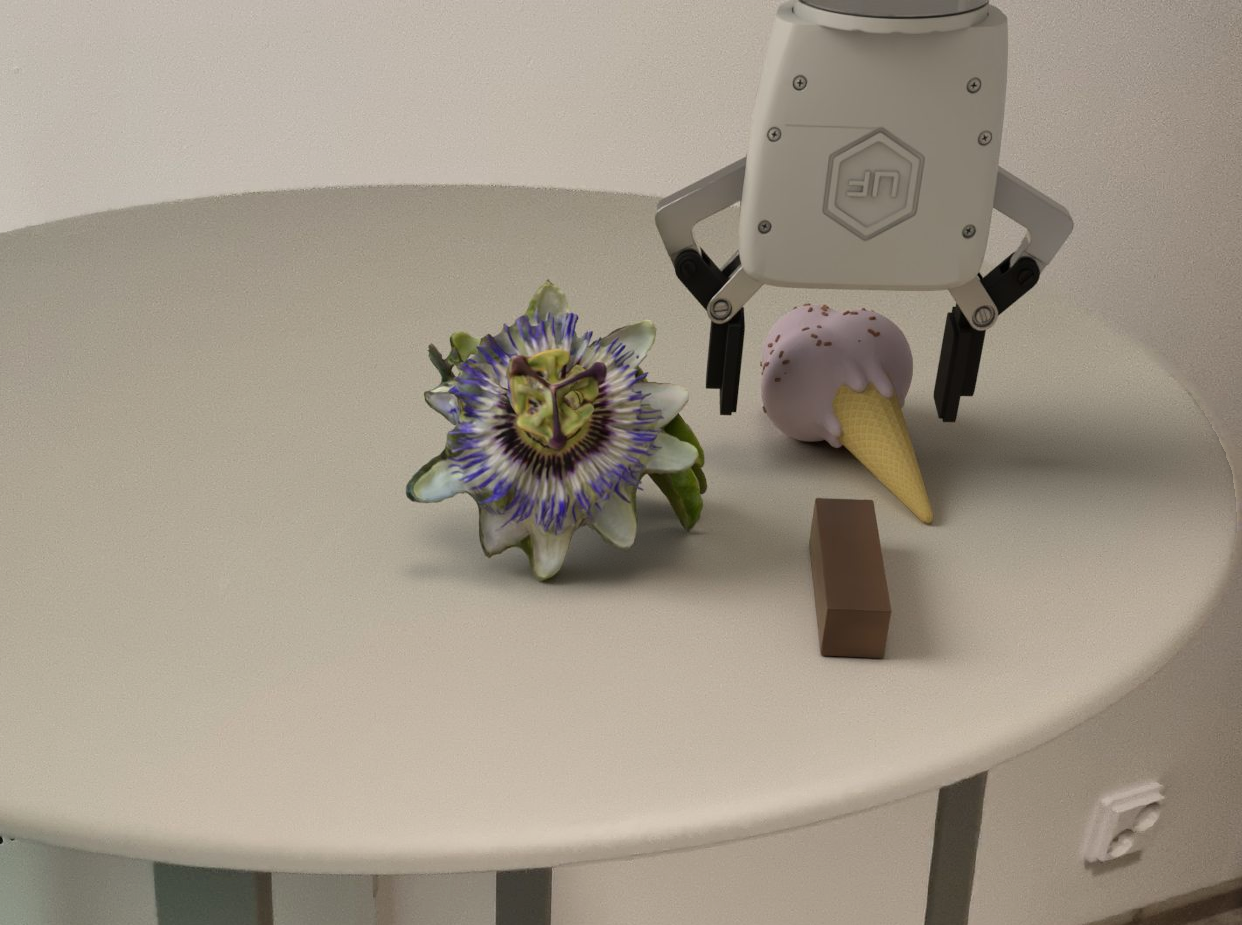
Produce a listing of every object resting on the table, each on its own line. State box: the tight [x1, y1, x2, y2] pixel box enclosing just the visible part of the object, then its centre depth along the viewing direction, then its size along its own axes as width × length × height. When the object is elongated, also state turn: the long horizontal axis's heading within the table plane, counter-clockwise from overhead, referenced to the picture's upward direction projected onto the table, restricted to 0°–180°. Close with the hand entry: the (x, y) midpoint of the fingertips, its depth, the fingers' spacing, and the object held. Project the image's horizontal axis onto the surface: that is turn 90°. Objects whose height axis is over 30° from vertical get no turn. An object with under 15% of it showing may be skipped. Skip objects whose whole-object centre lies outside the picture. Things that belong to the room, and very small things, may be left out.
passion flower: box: [405, 278, 708, 582], centre depth 79 cm, size 11×11×12 cm
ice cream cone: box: [759, 302, 934, 524], centre depth 86 cm, size 6×7×15 cm
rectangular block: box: [808, 497, 892, 659], centre depth 76 cm, size 2×10×2 cm, turn 173°
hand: (835, 407), depth 85 cm, fingers open, 9 cm apart
